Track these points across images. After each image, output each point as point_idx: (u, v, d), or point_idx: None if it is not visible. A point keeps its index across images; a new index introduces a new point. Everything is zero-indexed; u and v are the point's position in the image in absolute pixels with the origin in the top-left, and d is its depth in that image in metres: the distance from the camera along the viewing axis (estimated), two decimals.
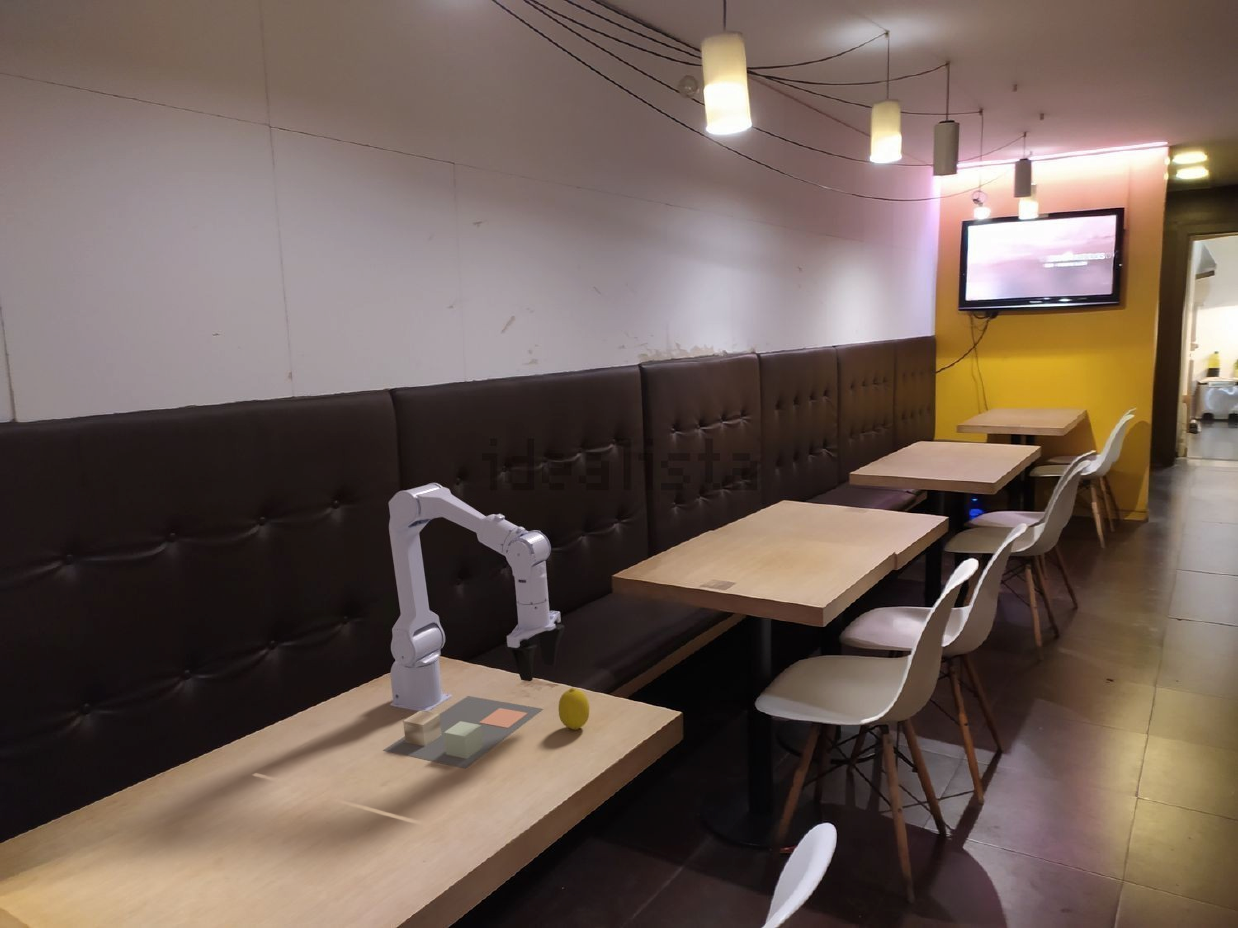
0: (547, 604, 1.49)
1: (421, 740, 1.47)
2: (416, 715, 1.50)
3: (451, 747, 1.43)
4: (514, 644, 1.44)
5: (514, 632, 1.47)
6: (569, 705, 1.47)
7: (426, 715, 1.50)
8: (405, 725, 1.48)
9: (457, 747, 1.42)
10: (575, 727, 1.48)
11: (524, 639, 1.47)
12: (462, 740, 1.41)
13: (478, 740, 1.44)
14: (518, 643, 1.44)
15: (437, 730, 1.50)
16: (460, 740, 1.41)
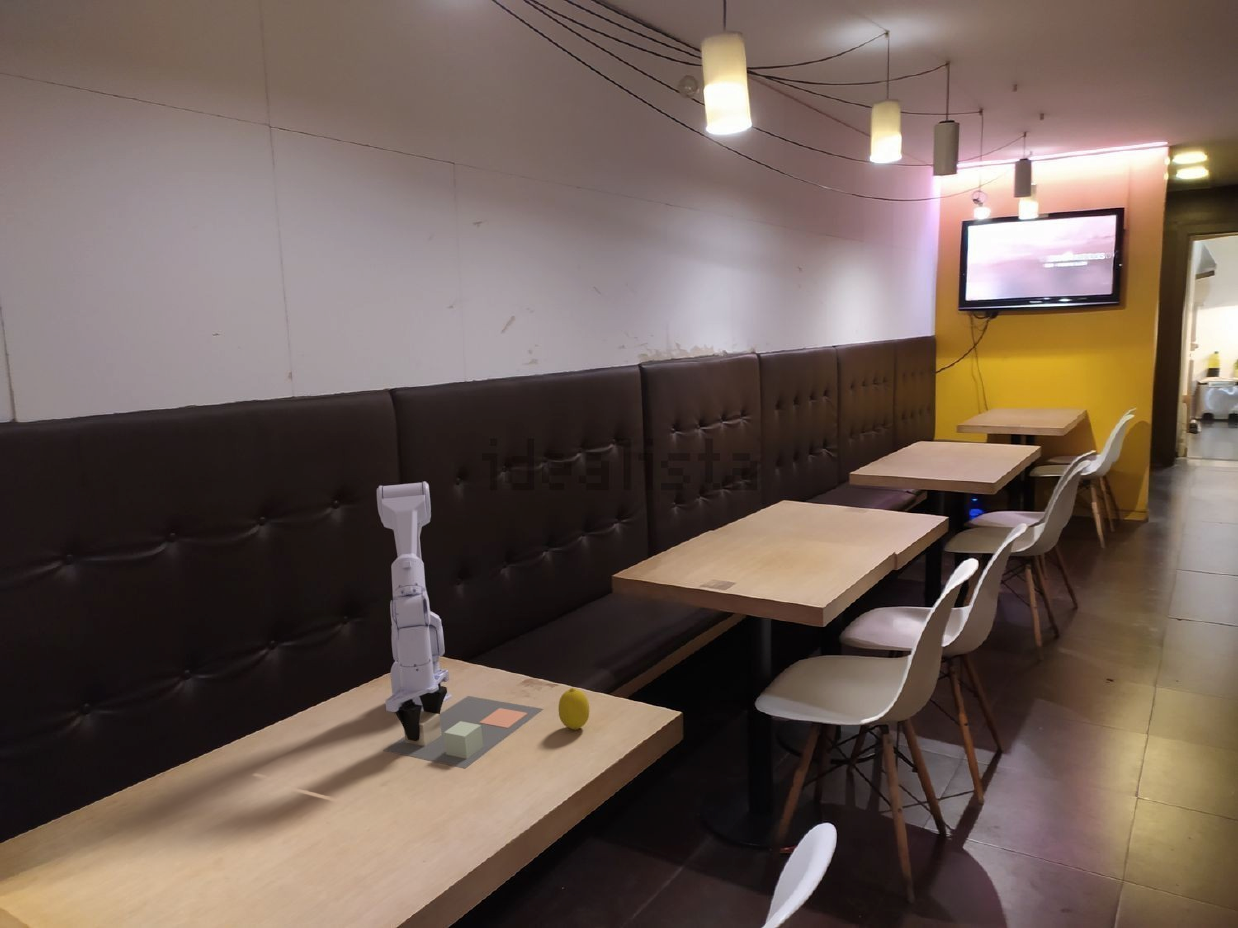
0: (430, 665, 1.47)
1: (421, 740, 1.47)
2: None
3: (451, 747, 1.43)
4: (392, 708, 1.42)
5: (394, 695, 1.45)
6: (569, 705, 1.47)
7: (426, 715, 1.50)
8: None
9: (457, 747, 1.42)
10: (575, 727, 1.48)
11: (405, 702, 1.45)
12: (462, 740, 1.41)
13: (478, 740, 1.44)
14: (396, 707, 1.42)
15: (437, 730, 1.50)
16: (460, 740, 1.41)
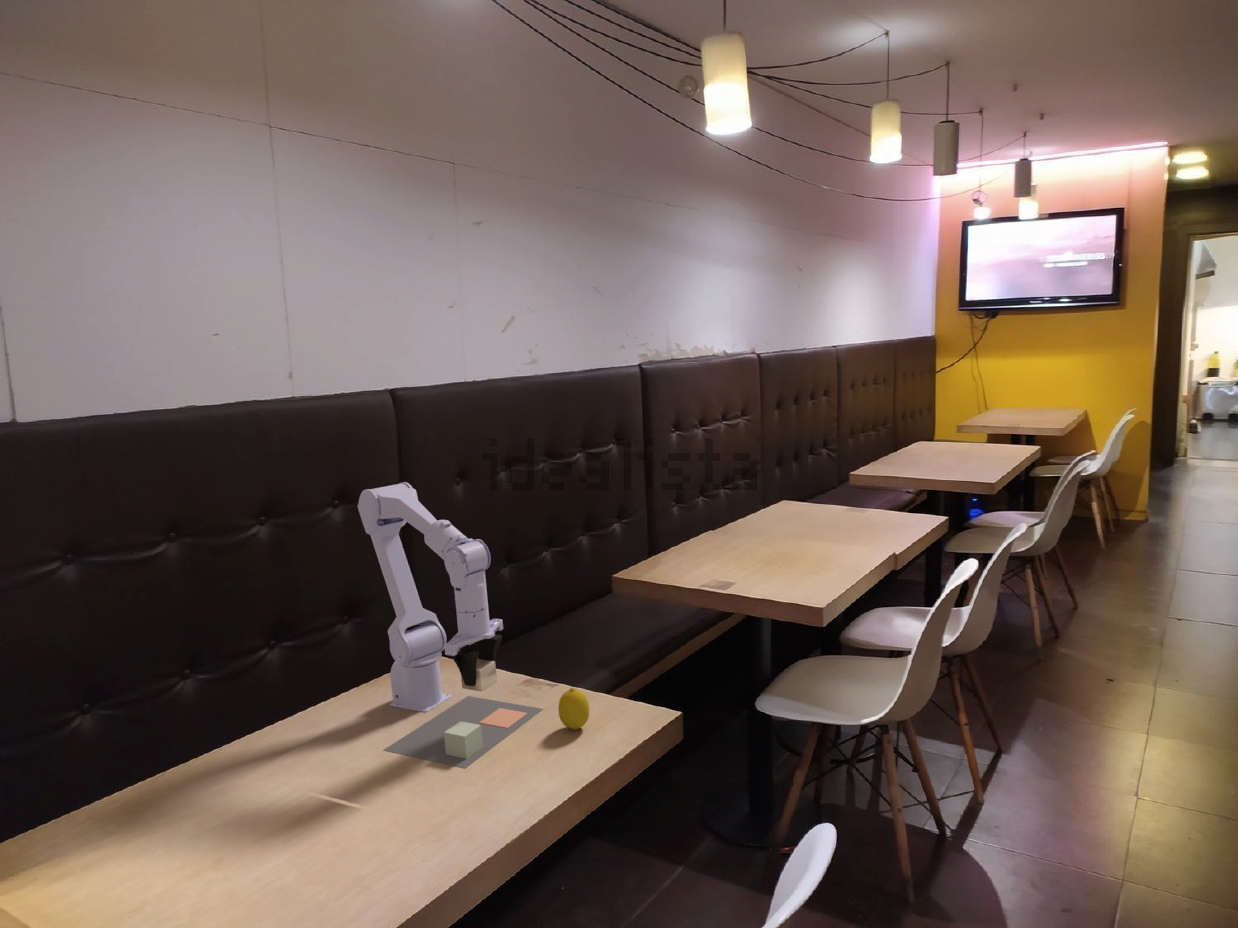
0: (486, 612, 1.51)
1: (478, 686, 1.50)
2: None
3: (451, 747, 1.43)
4: (451, 652, 1.46)
5: (452, 640, 1.48)
6: (569, 705, 1.47)
7: (482, 662, 1.53)
8: None
9: (457, 747, 1.42)
10: (575, 727, 1.48)
11: (462, 647, 1.48)
12: (462, 740, 1.41)
13: (478, 740, 1.44)
14: (455, 651, 1.46)
15: (493, 677, 1.53)
16: (460, 740, 1.41)
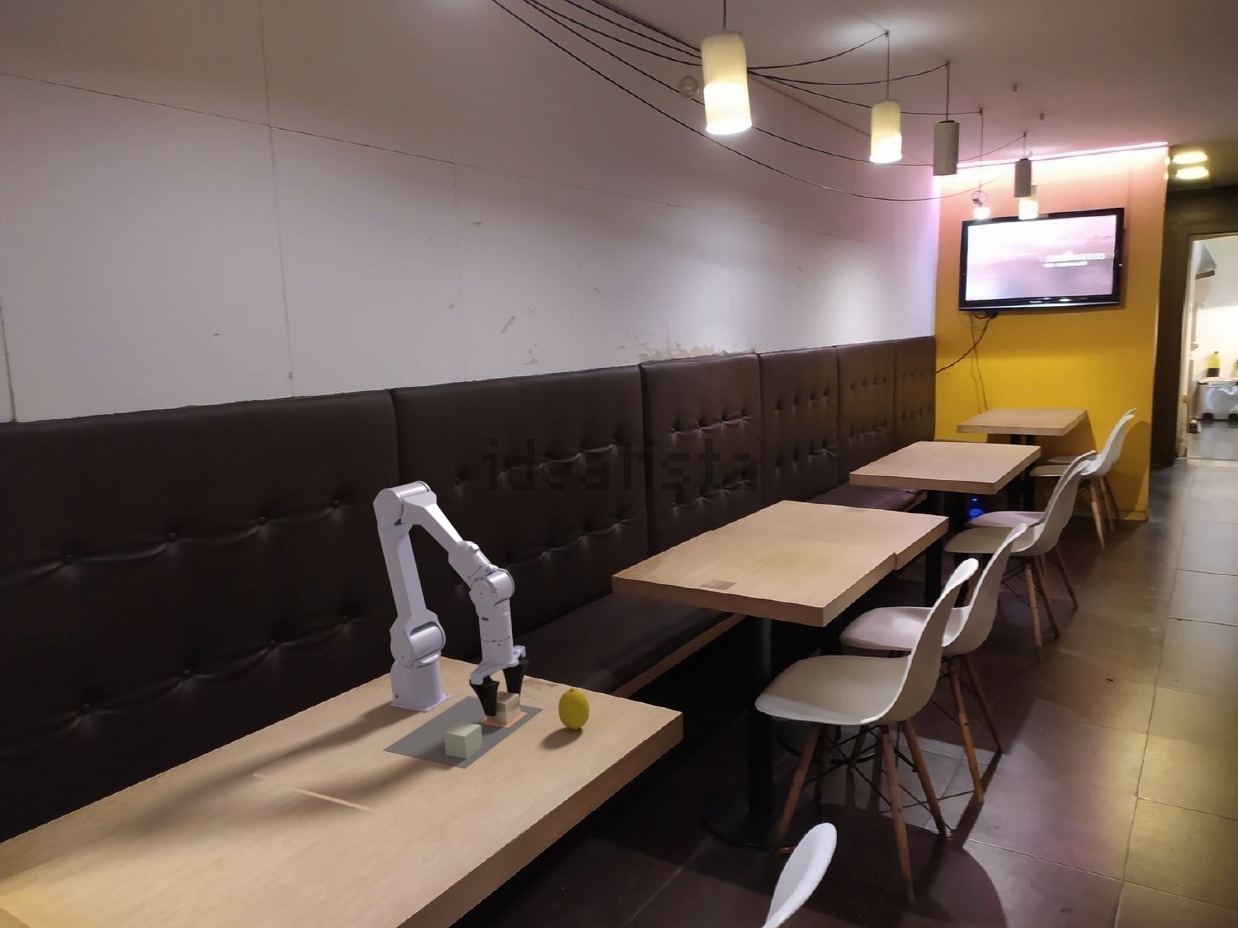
0: (510, 641, 1.53)
1: (503, 719, 1.53)
2: (497, 695, 1.57)
3: (451, 747, 1.43)
4: (477, 681, 1.48)
5: (478, 669, 1.51)
6: (569, 705, 1.47)
7: (506, 695, 1.56)
8: None
9: (457, 747, 1.42)
10: (575, 727, 1.48)
11: (487, 675, 1.51)
12: (462, 740, 1.41)
13: (478, 740, 1.44)
14: (481, 680, 1.48)
15: (517, 709, 1.56)
16: (460, 740, 1.41)
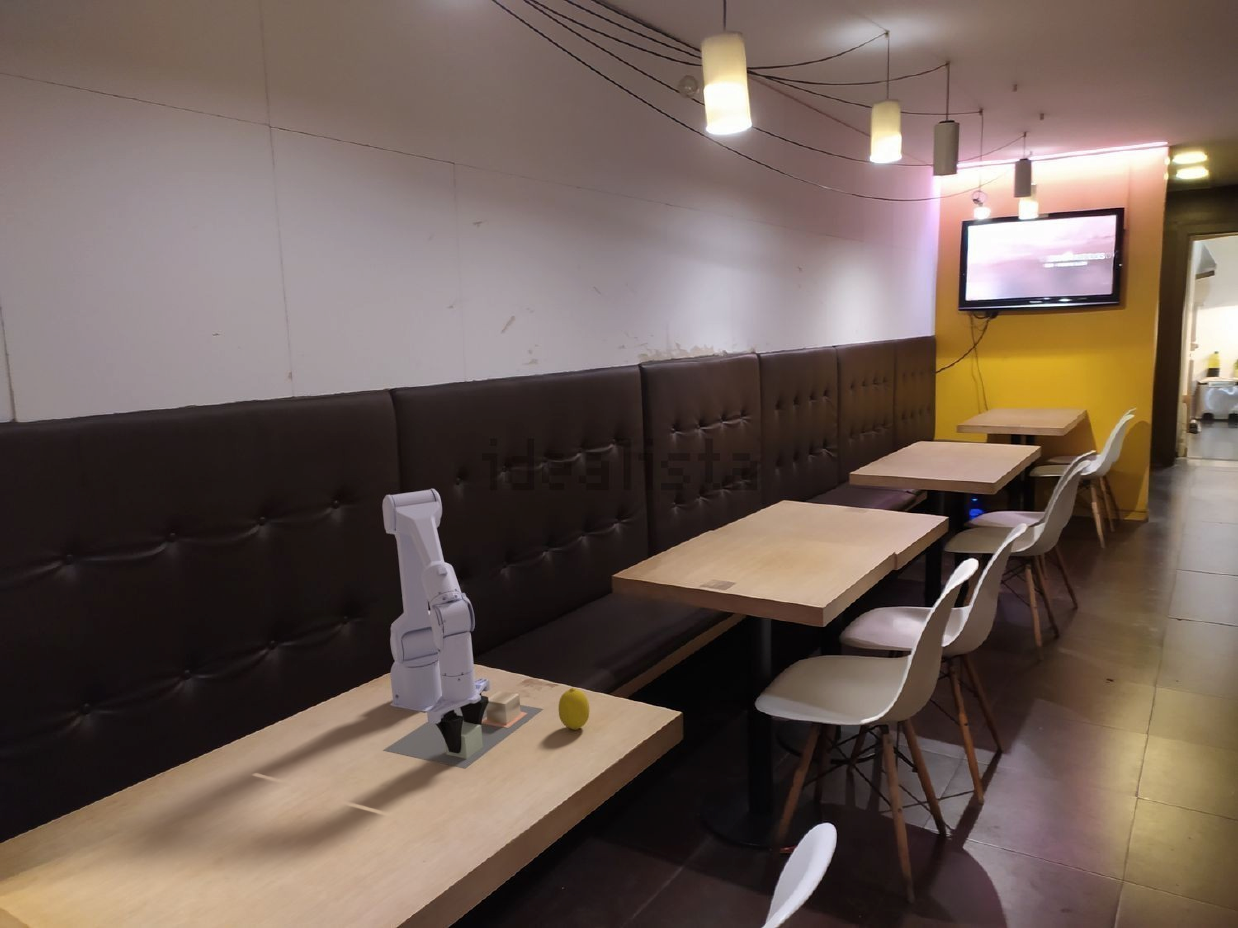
0: (472, 675, 1.42)
1: (503, 719, 1.53)
2: (497, 695, 1.57)
3: None
4: (434, 720, 1.36)
5: (436, 705, 1.39)
6: (569, 705, 1.47)
7: (506, 695, 1.56)
8: None
9: None
10: (575, 727, 1.48)
11: (446, 713, 1.39)
12: (462, 740, 1.41)
13: (478, 740, 1.44)
14: (439, 718, 1.37)
15: (517, 709, 1.56)
16: None
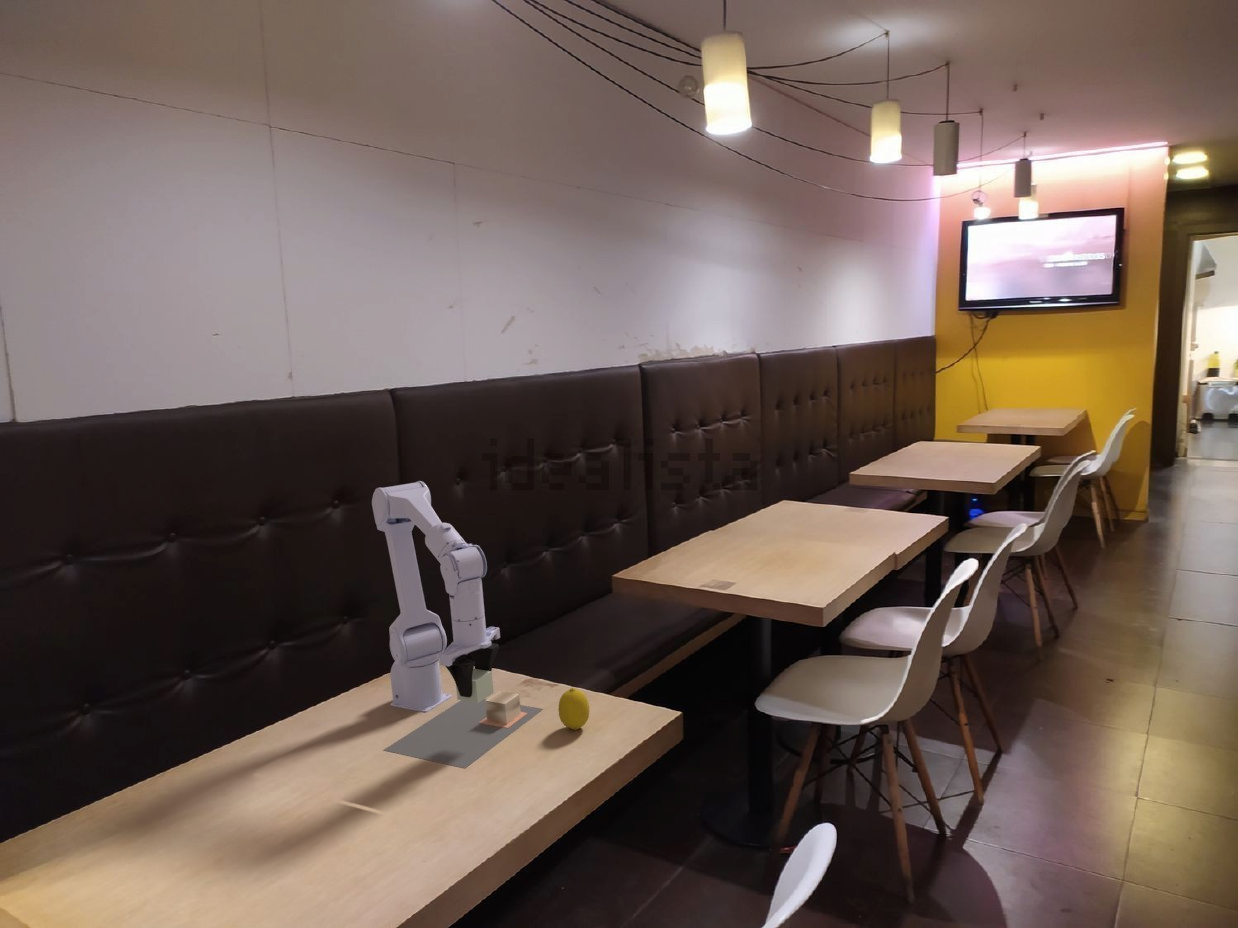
0: (483, 621, 1.45)
1: (503, 719, 1.53)
2: (497, 695, 1.57)
3: None
4: (446, 663, 1.40)
5: (447, 650, 1.42)
6: (569, 705, 1.47)
7: (506, 695, 1.56)
8: (487, 704, 1.54)
9: None
10: (575, 727, 1.48)
11: (458, 657, 1.42)
12: (473, 685, 1.44)
13: (488, 686, 1.47)
14: (450, 661, 1.40)
15: (517, 709, 1.56)
16: None
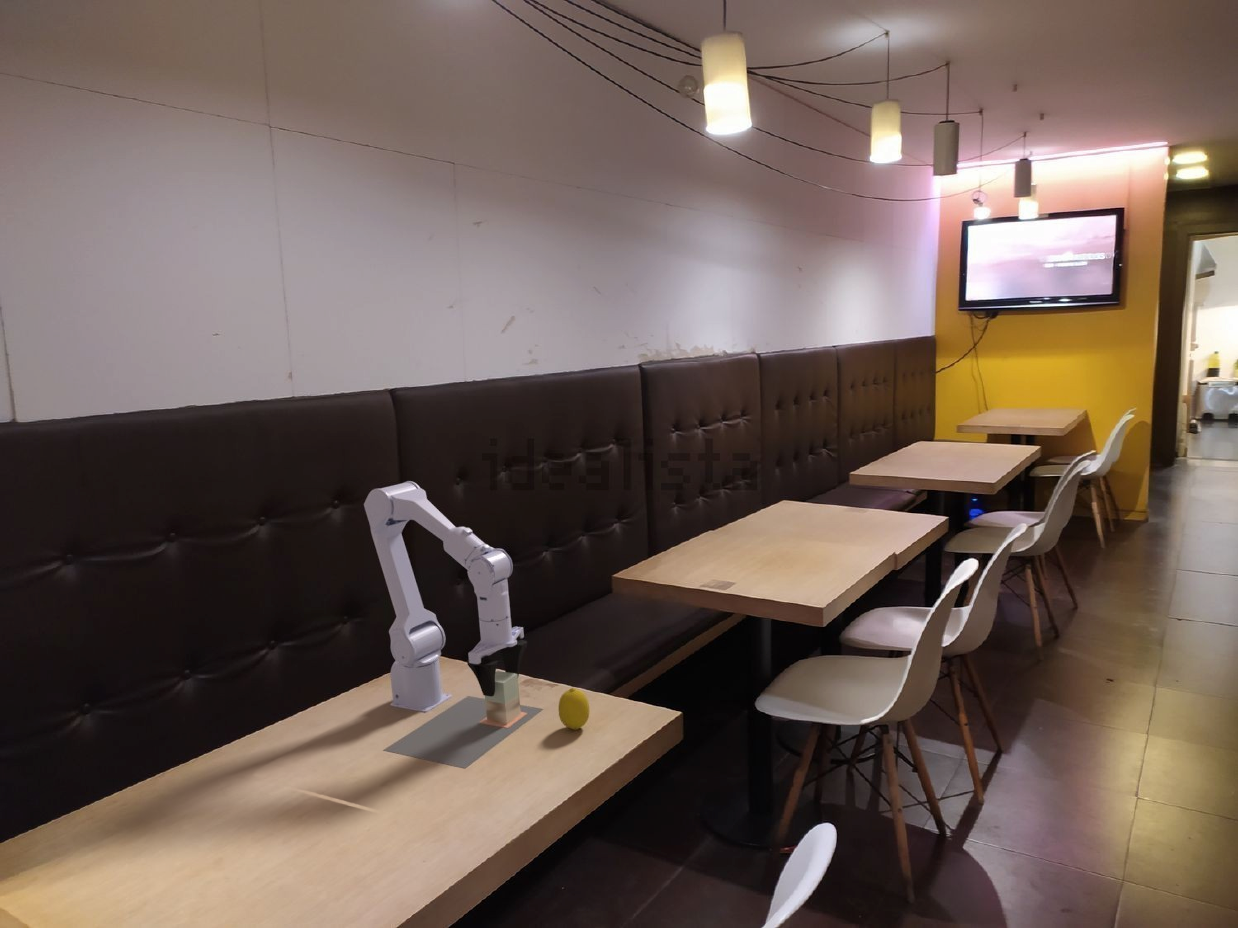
0: (509, 621, 1.53)
1: (503, 719, 1.53)
2: None
3: None
4: (475, 660, 1.48)
5: (476, 648, 1.50)
6: (569, 705, 1.47)
7: None
8: (487, 704, 1.54)
9: (495, 693, 1.53)
10: (575, 727, 1.48)
11: (486, 655, 1.50)
12: (501, 687, 1.52)
13: (514, 687, 1.55)
14: (479, 659, 1.48)
15: (517, 709, 1.56)
16: (499, 687, 1.53)
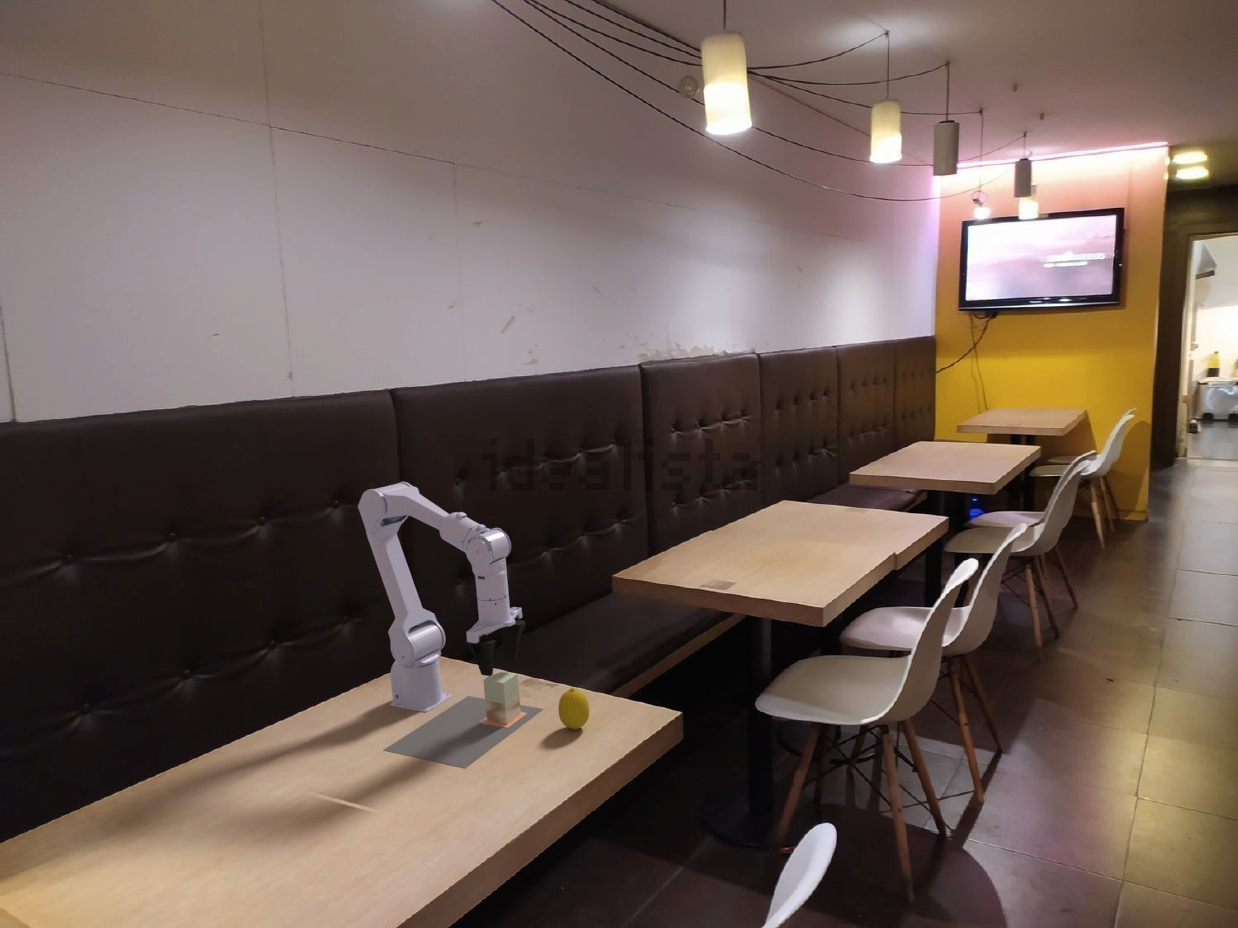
0: (507, 600, 1.52)
1: (503, 719, 1.53)
2: None
3: (490, 694, 1.54)
4: (473, 639, 1.47)
5: (474, 628, 1.50)
6: (569, 705, 1.47)
7: None
8: (487, 704, 1.54)
9: (495, 693, 1.53)
10: (575, 727, 1.48)
11: (484, 635, 1.50)
12: (501, 687, 1.52)
13: (514, 687, 1.55)
14: (477, 638, 1.47)
15: (517, 709, 1.56)
16: (499, 687, 1.53)
